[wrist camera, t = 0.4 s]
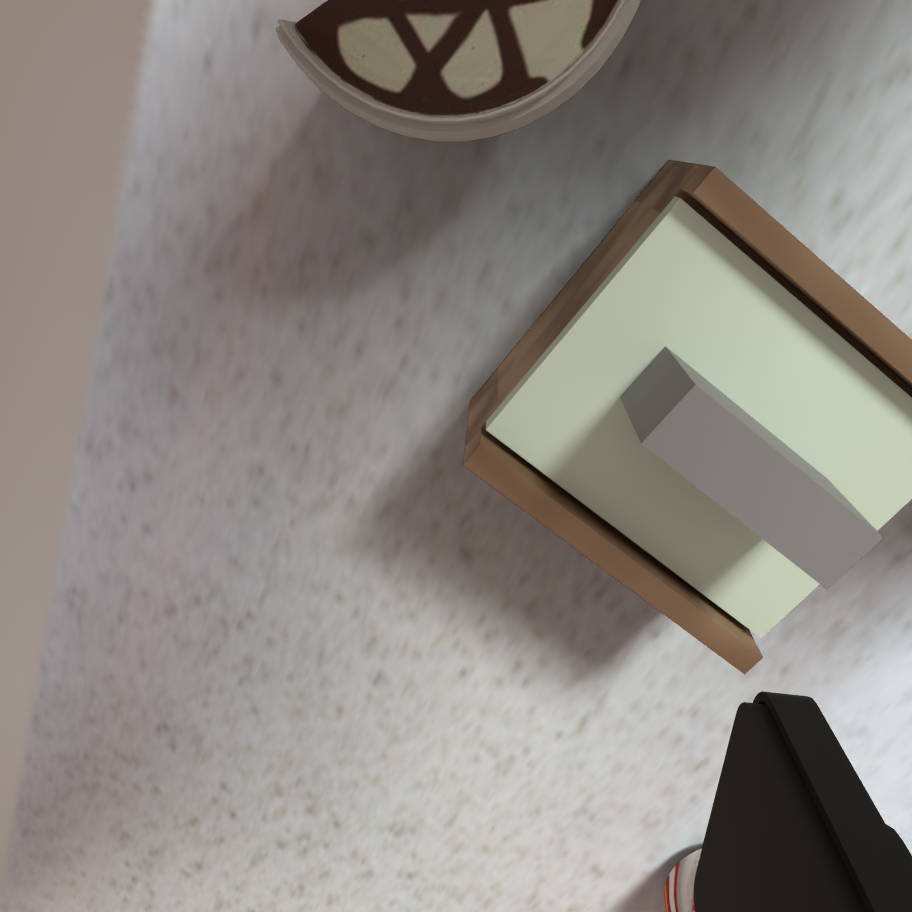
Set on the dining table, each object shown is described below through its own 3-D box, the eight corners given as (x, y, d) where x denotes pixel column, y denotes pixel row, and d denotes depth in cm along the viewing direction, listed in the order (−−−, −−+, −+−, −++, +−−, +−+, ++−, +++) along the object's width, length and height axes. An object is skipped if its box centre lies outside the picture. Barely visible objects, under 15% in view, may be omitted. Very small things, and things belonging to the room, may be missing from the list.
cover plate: (674, 196, 30) (715, 210, 24) (954, 437, 32) (1051, 501, 26) (486, 421, 33) (483, 480, 27) (754, 625, 35) (802, 717, 30)
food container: (408, 199, 36) (376, 222, 26) (327, 59, 34) (261, 31, 25) (680, 29, 33) (750, -13, 24) (606, -132, 31) (651, -244, 22)
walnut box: (669, 160, 35) (715, 166, 27) (909, 369, 37) (1012, 428, 30) (470, 401, 39) (462, 465, 31) (700, 576, 41) (744, 674, 34)
